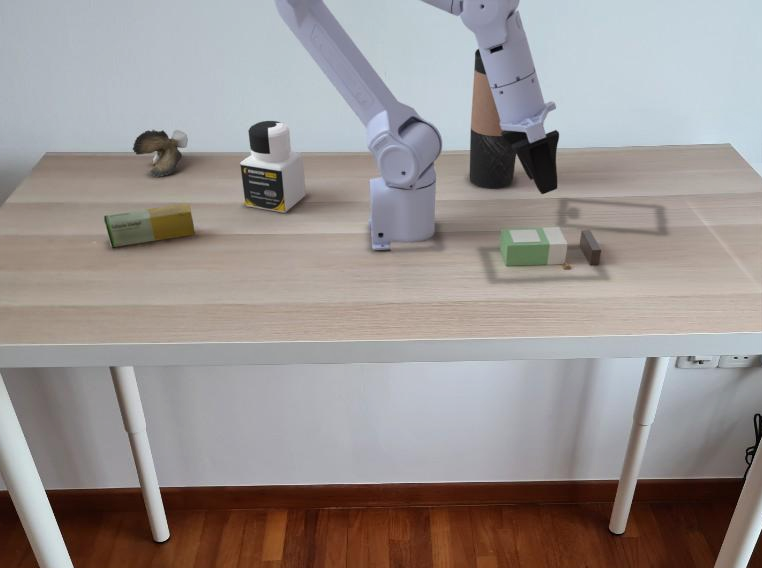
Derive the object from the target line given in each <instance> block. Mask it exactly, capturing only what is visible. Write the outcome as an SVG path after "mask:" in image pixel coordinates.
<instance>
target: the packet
mask: <svg viewBox="0 0 762 568" xmlns="http://www.w3.org/2000/svg"><path fill="white" fill-rule="evenodd" d="M568 244H569V243H568V242H567V239H566V238H565V236H564V234H563V231H562V230H561V228H560V226H551V227H549V226H547V227H530V228H529V227H521V228H501V229H500V238H499V251H500V254H501V257H502V259H503V262H504V264H505V267H514V266H515V267H516V266H519V267H520V266H544V265H545V266H547V265H548V266H549V265H550V266H552V265H553V266H556V265H563V264H564V263H566V259H567V252H568V251H567V250H568Z"/></svg>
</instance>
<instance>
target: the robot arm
mask: <svg viewBox="0 0 762 568" xmlns="http://www.w3.org/2000/svg"><path fill="white" fill-rule="evenodd" d="M419 1H420V2H422V3H425V4H427V5H430V6H432V7H435V8H437V9H439V10H441V11H443V12H446V13H448V14H450V15H452V16H455V17H459V18H460V19H461V22H462V23H463V25H464V27H466V28H467V29H468V30H469V31H471V32H472V33H473V34H474V37H475V40H476V43H477V47H478V49H479V51H480V55H481V58H482V61H483V65H484V68H485V71H486V74H487V78H488V81H489V84H490V88H491V91H492V94H493V98H494V101H495V104H496V108H497V111H498V114H499V118H500V126H501V129H502V130H504V131H502V132H501V135H502V136H503V137H504V138H505V139H506V140H507V141H508V142H509V143H510V145H511V146H512V148H513V149H514V151H515V152H516V157H517V158H518V160H519V162H520V164H521V166H522V168H523V170H524V172H525V174H526V176H527V177H528V179H529V180H530V181H532V180H533V182H534V184H535V186H536V188H537V190H538V191H539V193H540V194H541V195H544V194H547V193H550V192H553V191H556V190H558V171H557V151H558V150H557V149H558V144H559V140H560V133H559V131H558V130H557V129H555V130H551V131H550V132H547V133H546V130H545V127H544V124H545V120H546V118H547V116H548V114H549V113H550V112H552V111H554V110H556V109H557V105H556V102H555V101H548V102H546V103H545V99H544V96H543V91H542V89H541V85H540V81H539V78H538V74H537V69H536V67H535V63H534V60H533V55H532V51H531V49H530V44H529V41H528V37H527V34H526V31H525V29H524V25H523V22H522V17H521V15H520V11H519V10H517V9H518V8H519V5H520V0H419ZM274 4H275V6H276V10H277V13H278V14H279V16H280V18H281V19H282V21H283V22H284V23H285V25H286V26H287V27H288V29H289V30H290V31H291V32H292V34H293V35H294V36H295V38H296V39H297V41H299V43H300V44H301V46H302V47H303V48H304V49H305V51H306V52H307V54H309V56H310V57H311V58H312V59H313V61H314V63H316V65H317V66H318V67H319V69H320V70H321V71H322V73H323V74H324V75H325V76H326V78H327V80H328V81H329V82H330V83H331V85H332V86H333V87H334V89H336V91H337V92H338V93H339V94H340V96H341V97H342V98H343V100H344V101H345V103H346V104H347V105H348V106H349V108H350V109H351V110H352V112H353V113H354V114H355V115H356V117H357V118H358V119H359V121H360V122H361V123H362V125H363V126H364V127H365V129H366V147H367V149H368V151H369V152H370V153H371V155H372V156H373V158H374V160H375V163H376V167H377V170H378V173H379V175H380V177H375V178H370V179H369V207H370V208H369V210H370V211H369V213H370V217H368V219H367V220H368V231H370V236H371V247H372V248H371V249H372V250H374V251H389V250H392V248H391V242H399V243H400V242H401V243H419V242H423V241H426V240H428V239H430V238H432V237H433V236H434V235H435V230H436V229H435V227H436V226H435V225H436V191H437V190H436V189H437V187H436V186H437V173H436V170H435V162H436V160H437V159H438V158H439V157H440V155H441V154H442V150H443V138H442V135H441V133H440V131H439V129H438V128H437V127H436V126H435V125H434V123H432V122H431V121H428V120H426V119H425V118H423V117H422V116H420V114H419V113H418V112H417V110H416V109H415V108H414V107H412V106H410V105H408V104H405V103H402V102H400V101H398V99H397V98H396V96H395V95H394V94H393V93H392V91H391V90H390V88H389V87H388V86H387V85H386V83H385V81H383V79H382V78H381V76H380V75H379V74H378V72H377V71H376V70H375V68H374V67H373V66H372V64H371V63H370V62H369V60H368V59H367V58H366V56H365V55H364V54H363V52H362V51H361V50H360V48H359V47H358V46H357V45H356V44H355V43H356V42H354V41H353V40H352V38H351V36H349V34H348V33H347V31H346V30H345V29H344V28H343V26H342V25H341V23H340V22H339V21H338V19H337V18H336V17H335V15H334V14H333V13H332V11H331V10H330V9H329V8H328V6H327V5H326V4H325V2H324V0H274Z"/></svg>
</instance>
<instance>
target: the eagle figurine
mask: <svg viewBox="0 0 762 568" xmlns="http://www.w3.org/2000/svg"><path fill="white" fill-rule="evenodd" d="M188 142H189V138H188V134H187V133H186V132H184V131H183V130H180V129H175V130H174V131H173V132H172V135H171V137H169V135H168V134H167V133H166V131H164V130H160V131H158V130H155V129H152V130H145V131H143V132H142V133H141V134H139V135H138V136H137V137H136V139H135V140H134V143H133V147H132V151H133V152H134V153H135V155H137V156H138V155H139V156H140V155H145V154H146V155H147V154H153V153H155V152H156V153H155V154H154V157H153V159H152V165H154V166H153V167H152V168H151V170H149V174H150V175H151V176H153V177H155V178H159V177H164V176H165V175H166V176H168V175H171V174H173V173H174V172H175V171H176V169H178V165H179V163H180V161H181V160H182V158H183V155H182V152H181V151H180V149H185V148H187V146H188Z"/></svg>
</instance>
